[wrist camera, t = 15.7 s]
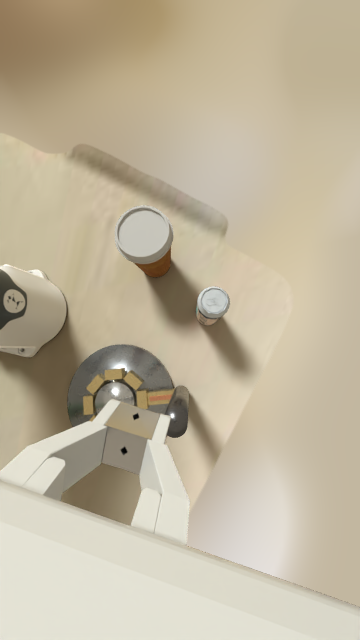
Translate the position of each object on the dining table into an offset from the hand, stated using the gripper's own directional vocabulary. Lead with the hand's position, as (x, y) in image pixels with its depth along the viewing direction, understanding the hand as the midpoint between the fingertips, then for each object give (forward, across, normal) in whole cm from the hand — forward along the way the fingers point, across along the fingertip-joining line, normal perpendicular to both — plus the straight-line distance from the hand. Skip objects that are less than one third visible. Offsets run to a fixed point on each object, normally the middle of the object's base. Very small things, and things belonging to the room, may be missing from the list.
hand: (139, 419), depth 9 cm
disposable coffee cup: (+35, +10, -8) cm, 37 cm away
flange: (+25, +9, +19) cm, 33 cm away
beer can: (+32, -3, 0) cm, 32 cm away
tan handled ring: (+24, +6, +17) cm, 30 cm away
